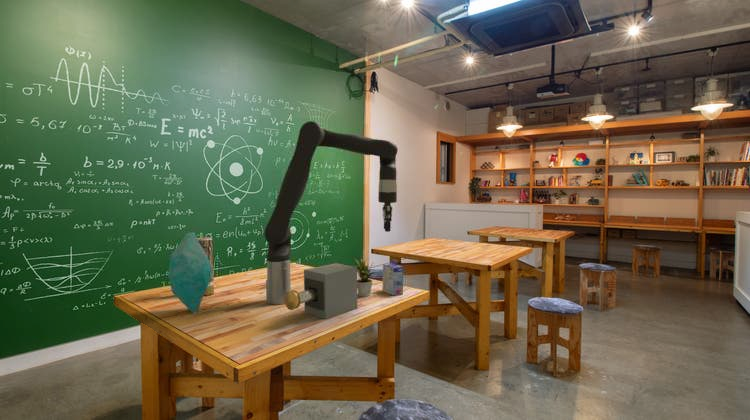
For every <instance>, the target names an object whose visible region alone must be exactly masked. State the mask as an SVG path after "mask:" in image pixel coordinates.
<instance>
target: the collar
mask: <svg viewBox="0 0 750 420" xmlns="http://www.w3.org/2000/svg"><path fill="white" fill-rule="evenodd" d="M303 285H304V286H303V289H304V290H303V291H305V290H309V289H310V287H312V288H316V289H317V301H315V300H312V301H308V302H305V303H304V306H305V305H306V306H309V307H312V308H315V309H319V310H322V311H323V310H324V285H323V282H320V281H316V280H311V279H307V278H304V277H303Z"/></svg>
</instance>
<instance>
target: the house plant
mask: <svg viewBox="0 0 750 420" xmlns="http://www.w3.org/2000/svg"><path fill="white" fill-rule="evenodd" d="M354 260H355V262H357V265H356V264H354V263H353V266H354V267H357V276H358V279H357V296H359V297H365V298H366V297H370V296H371V294H372V293H371V292H372V286H373V280H372V279H371V278H372V277H373V276H377V275H378V274H377V273H376V272H373V271H372V267H373V264H374V262H371V265H370V267H369V264H368V265H366V261H367V259H365V260H363V259H362V258H361V259H360V262H359V260H357V259H356V258H354ZM348 263H351V262H349V261H348ZM375 265H377V263H375V264H374V266H375ZM349 266H352V263H351V264H349ZM371 271H372V272H371ZM375 273H376V274H375ZM372 274H373V275H372Z"/></svg>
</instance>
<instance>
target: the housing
mask: <svg viewBox="0 0 750 420" xmlns="http://www.w3.org/2000/svg"><path fill="white" fill-rule="evenodd" d="M354 266H355V265H346V264H342V263H336V262H335V263H331V264H326V265H321V266H317V267H316V266H315V267H311V268H307V269H306V268H305V269H303V279H304V278H307V279H311V280H316V281H320V282H323V285H324V310H323V311H322V310H319V309H315V308H312V307H309V306H306V305H305V304H304V313H306V314H310V315H313V316H315V317H318V318H322V319H324V320H327V319H330V318H333V317H336V316H339V315H341V314H345V313H347V312H351V311H353V310H357V309H358V289H357V280H358V275H357V274H358V272H357V270H358V268H357V266H355V267H354ZM310 289H313V288H312V287H310ZM315 301H317V299H315Z"/></svg>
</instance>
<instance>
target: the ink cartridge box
mask: <svg viewBox="0 0 750 420" xmlns="http://www.w3.org/2000/svg"><path fill="white" fill-rule="evenodd" d="M382 291H383V292H385V293H387V294H389V295H391V296H398V295H399V296H400V295H403V294H404V267H403V266H402V265H398V259H393V260H392V261H391V263H383V264H382Z"/></svg>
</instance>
